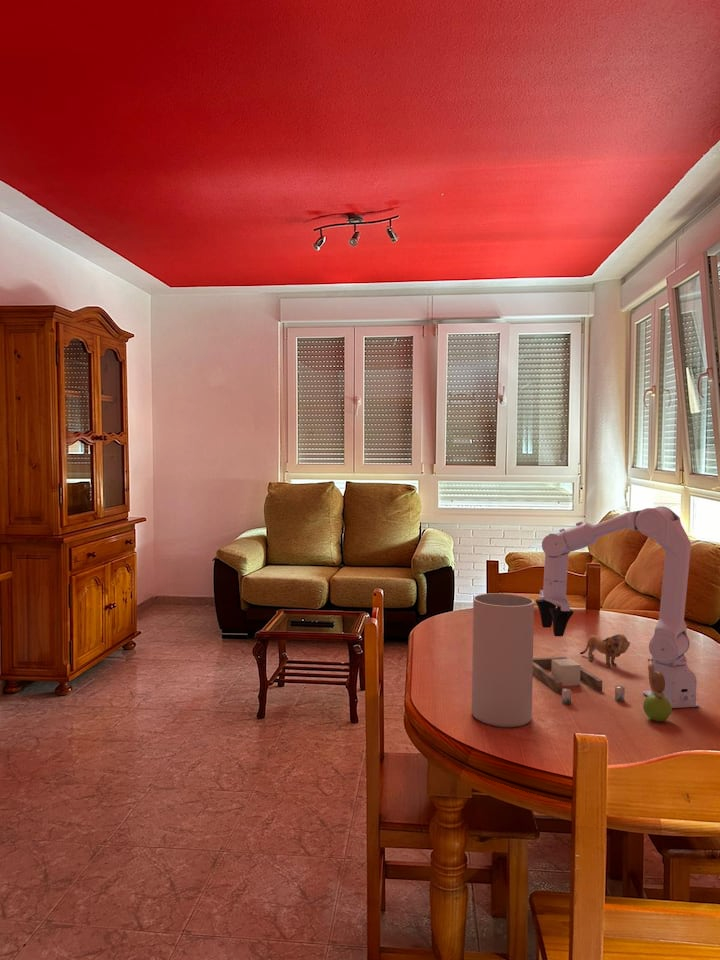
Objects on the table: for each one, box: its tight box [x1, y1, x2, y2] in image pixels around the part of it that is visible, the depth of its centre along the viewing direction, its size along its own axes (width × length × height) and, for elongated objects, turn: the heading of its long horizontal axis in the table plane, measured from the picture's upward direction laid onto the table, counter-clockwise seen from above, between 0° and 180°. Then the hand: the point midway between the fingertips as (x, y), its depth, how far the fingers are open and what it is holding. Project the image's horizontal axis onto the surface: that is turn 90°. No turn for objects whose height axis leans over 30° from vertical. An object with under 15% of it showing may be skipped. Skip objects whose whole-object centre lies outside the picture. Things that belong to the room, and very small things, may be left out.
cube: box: [550, 658, 581, 687], centre depth 157 cm, size 5×5×5 cm
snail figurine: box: [642, 658, 673, 722], centre depth 135 cm, size 5×6×12 cm
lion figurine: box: [579, 633, 631, 669], centre depth 172 cm, size 15×5×9 cm, turn 34°
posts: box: [561, 685, 626, 706], centre depth 144 cm, size 2×15×3 cm, turn 100°
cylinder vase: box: [471, 592, 535, 728], centre depth 135 cm, size 12×12×25 cm
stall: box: [533, 656, 603, 694], centre depth 159 cm, size 18×11×2 cm, turn 10°
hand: (552, 631), depth 165 cm, fingers open, 7 cm apart
